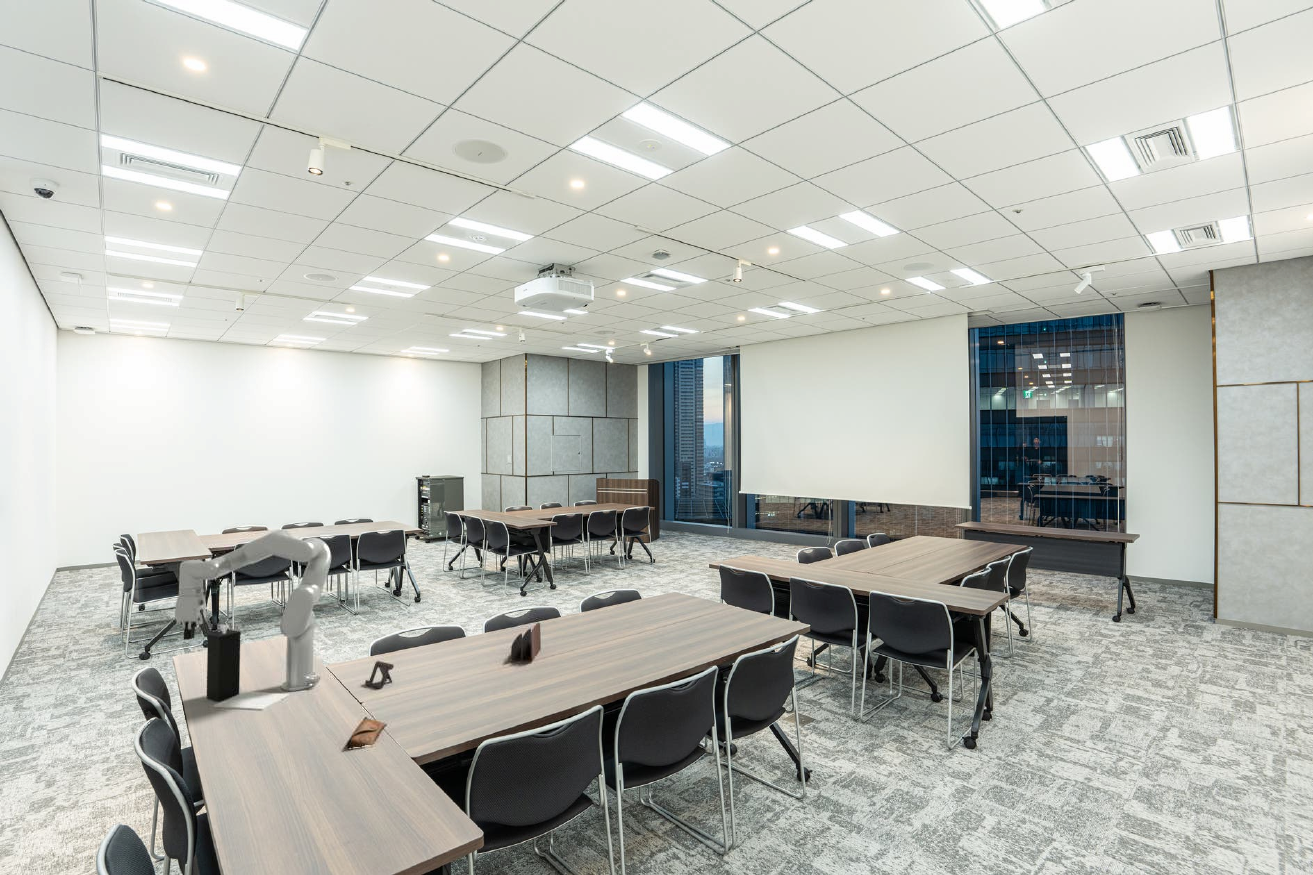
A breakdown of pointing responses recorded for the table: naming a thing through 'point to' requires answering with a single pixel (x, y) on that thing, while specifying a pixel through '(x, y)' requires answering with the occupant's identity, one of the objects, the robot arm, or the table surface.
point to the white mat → (252, 700)
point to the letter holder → (526, 645)
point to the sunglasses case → (365, 733)
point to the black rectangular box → (223, 664)
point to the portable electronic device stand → (384, 671)
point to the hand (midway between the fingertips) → (189, 638)
